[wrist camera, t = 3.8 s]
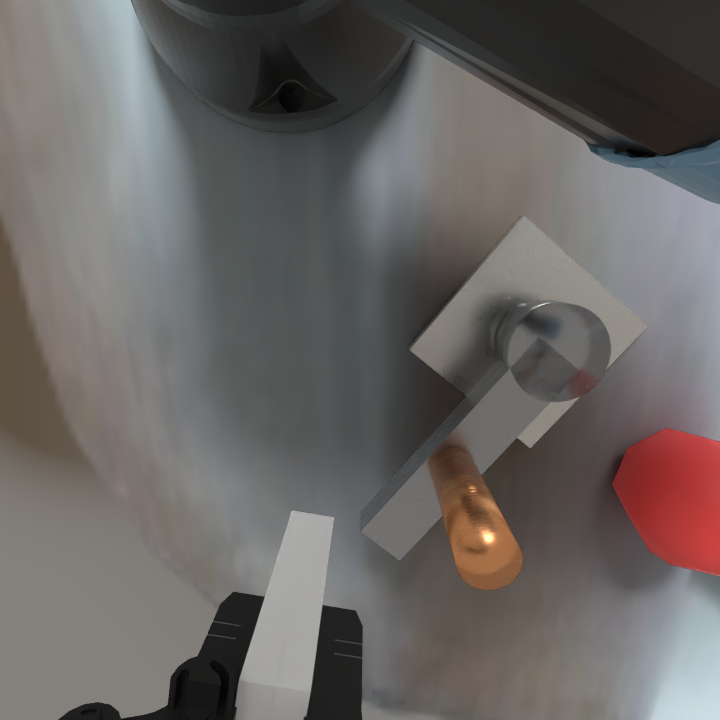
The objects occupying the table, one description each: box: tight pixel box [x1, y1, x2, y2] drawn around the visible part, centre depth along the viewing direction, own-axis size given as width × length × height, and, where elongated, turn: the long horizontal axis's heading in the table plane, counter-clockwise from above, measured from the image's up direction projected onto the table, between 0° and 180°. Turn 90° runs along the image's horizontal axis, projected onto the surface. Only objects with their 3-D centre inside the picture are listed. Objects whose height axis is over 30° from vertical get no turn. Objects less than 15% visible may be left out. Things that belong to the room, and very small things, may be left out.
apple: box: [612, 428, 720, 576], centre depth 26 cm, size 8×8×8 cm
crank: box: [360, 300, 611, 590], centre depth 21 cm, size 16×5×10 cm, turn 141°
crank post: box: [408, 216, 648, 448], centre depth 26 cm, size 10×10×3 cm
